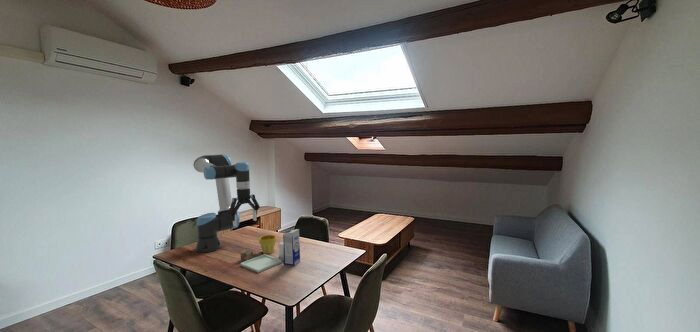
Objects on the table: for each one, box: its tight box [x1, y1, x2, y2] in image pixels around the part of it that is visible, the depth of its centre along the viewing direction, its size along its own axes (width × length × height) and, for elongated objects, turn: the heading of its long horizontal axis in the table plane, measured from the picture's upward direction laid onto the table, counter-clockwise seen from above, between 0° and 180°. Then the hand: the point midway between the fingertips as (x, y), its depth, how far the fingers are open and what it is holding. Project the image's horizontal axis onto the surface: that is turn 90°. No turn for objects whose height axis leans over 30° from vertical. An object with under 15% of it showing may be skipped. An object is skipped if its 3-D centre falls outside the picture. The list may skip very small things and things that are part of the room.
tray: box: [240, 253, 283, 274], centre depth 170 cm, size 17×17×2 cm
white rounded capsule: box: [277, 241, 284, 261], centre depth 178 cm, size 7×7×9 cm
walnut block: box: [240, 249, 254, 262], centre depth 177 cm, size 5×5×5 cm
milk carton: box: [282, 228, 301, 267], centre depth 169 cm, size 7×7×20 cm
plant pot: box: [258, 234, 277, 255], centre depth 188 cm, size 10×10×10 cm
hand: (245, 223), depth 175 cm, fingers open, 13 cm apart
